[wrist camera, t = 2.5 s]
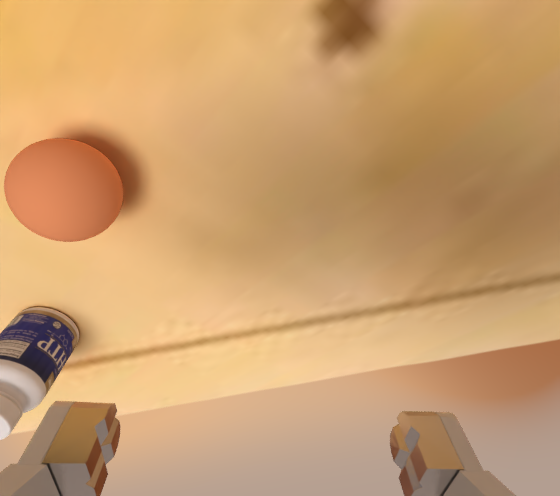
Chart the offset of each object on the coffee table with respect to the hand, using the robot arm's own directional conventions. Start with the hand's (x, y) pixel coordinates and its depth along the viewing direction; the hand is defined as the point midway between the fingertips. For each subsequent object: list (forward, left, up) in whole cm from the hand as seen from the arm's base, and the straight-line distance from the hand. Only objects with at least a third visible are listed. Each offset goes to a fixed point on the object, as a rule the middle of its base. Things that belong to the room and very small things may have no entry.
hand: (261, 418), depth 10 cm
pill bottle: (+18, +14, -17) cm, 29 cm away
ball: (+12, 0, -14) cm, 18 cm away
